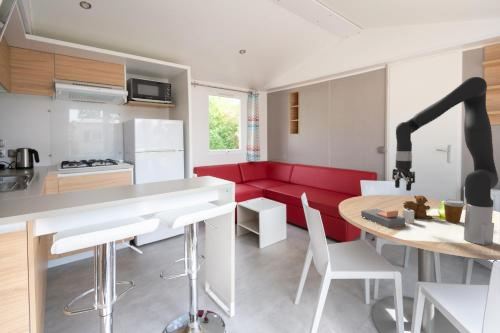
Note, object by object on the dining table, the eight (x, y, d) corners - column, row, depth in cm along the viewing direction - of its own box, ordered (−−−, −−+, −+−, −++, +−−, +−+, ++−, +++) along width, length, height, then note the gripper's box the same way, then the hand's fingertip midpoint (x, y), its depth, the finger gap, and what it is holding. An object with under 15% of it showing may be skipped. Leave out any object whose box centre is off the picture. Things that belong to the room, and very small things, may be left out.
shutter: (397, 216, 141) (398, 210, 141) (388, 218, 139) (388, 211, 138) (385, 212, 149) (385, 206, 149) (376, 213, 147) (376, 208, 146)
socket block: (404, 224, 140) (405, 217, 139) (388, 227, 136) (388, 220, 136) (376, 214, 159) (376, 208, 158) (361, 217, 155) (361, 210, 155)
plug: (413, 222, 143) (414, 208, 142) (408, 223, 142) (409, 209, 141) (407, 220, 147) (408, 206, 146) (402, 221, 146) (402, 207, 145)
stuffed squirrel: (434, 219, 148) (435, 197, 147) (410, 219, 149) (411, 198, 147) (422, 214, 158) (423, 193, 157) (400, 214, 158) (401, 194, 157)
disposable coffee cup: (451, 218, 149) (452, 198, 148) (467, 223, 139) (469, 202, 138) (437, 219, 147) (438, 199, 146) (453, 225, 138) (454, 203, 137)
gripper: (420, 160, 129) (419, 191, 130) (400, 158, 143) (399, 186, 144) (406, 160, 128) (405, 192, 129) (388, 159, 142) (387, 187, 143)
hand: (402, 189), depth 137 cm, fingers open, 8 cm apart
